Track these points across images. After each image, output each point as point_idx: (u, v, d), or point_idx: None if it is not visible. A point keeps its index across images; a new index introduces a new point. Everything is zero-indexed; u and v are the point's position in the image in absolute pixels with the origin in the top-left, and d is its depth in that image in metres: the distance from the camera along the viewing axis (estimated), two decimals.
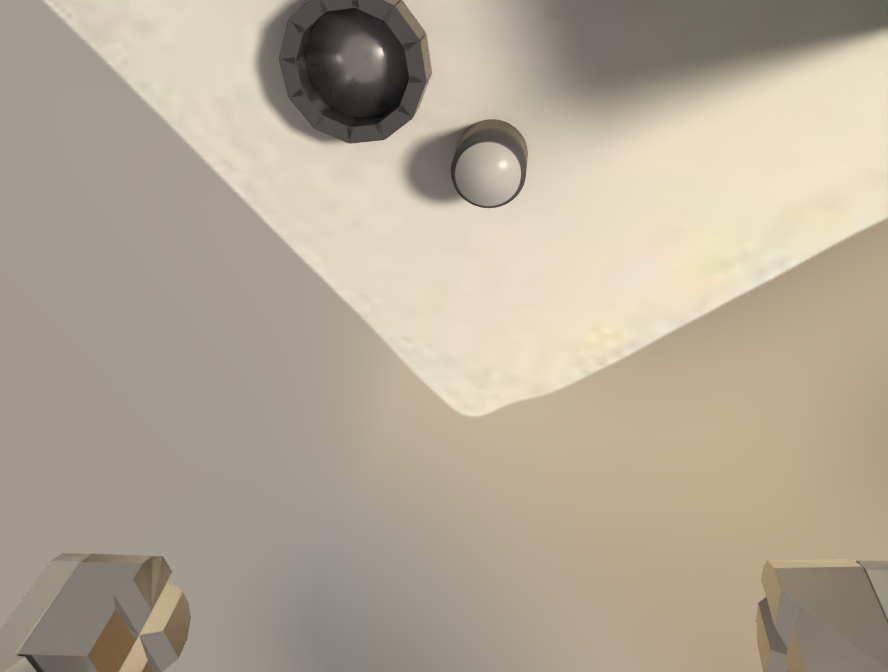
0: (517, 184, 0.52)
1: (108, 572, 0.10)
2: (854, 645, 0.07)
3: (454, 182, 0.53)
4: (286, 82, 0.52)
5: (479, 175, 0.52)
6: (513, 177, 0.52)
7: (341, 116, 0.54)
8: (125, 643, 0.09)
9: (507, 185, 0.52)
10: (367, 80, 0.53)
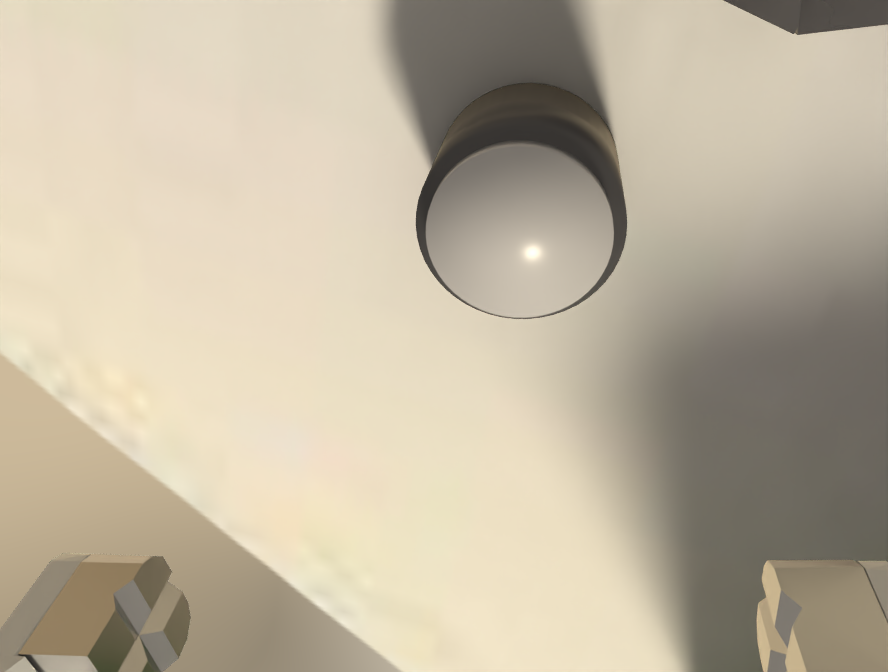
0: (492, 309, 0.20)
1: (108, 572, 0.10)
2: (854, 645, 0.07)
3: (489, 135, 0.17)
4: None
5: (517, 217, 0.18)
6: (512, 301, 0.19)
7: None
8: (125, 643, 0.09)
9: (489, 286, 0.19)
10: None
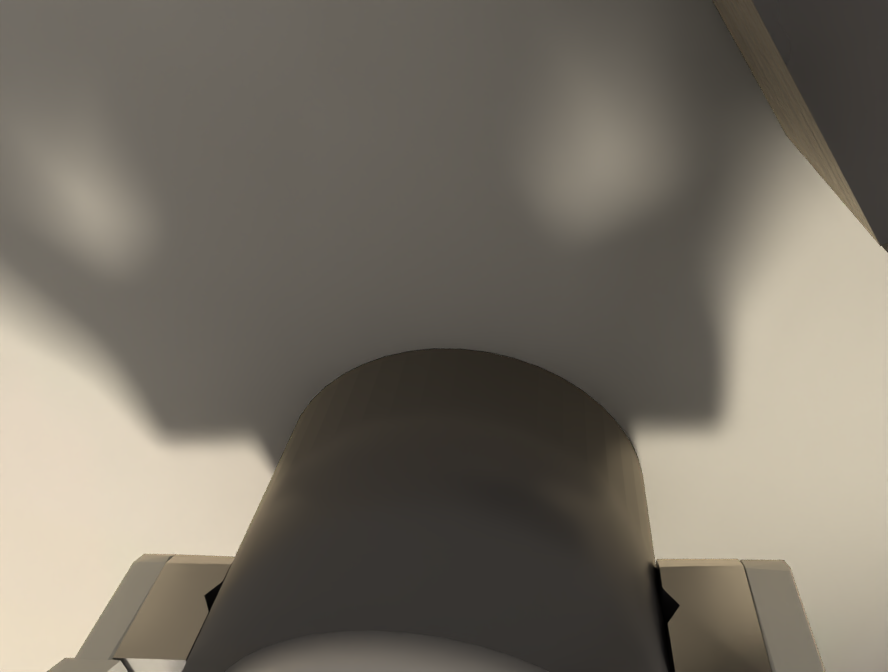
0: None
1: (195, 573, 0.09)
2: (721, 641, 0.07)
3: (319, 615, 0.06)
4: None
5: None
6: None
7: None
8: None
9: None
10: None
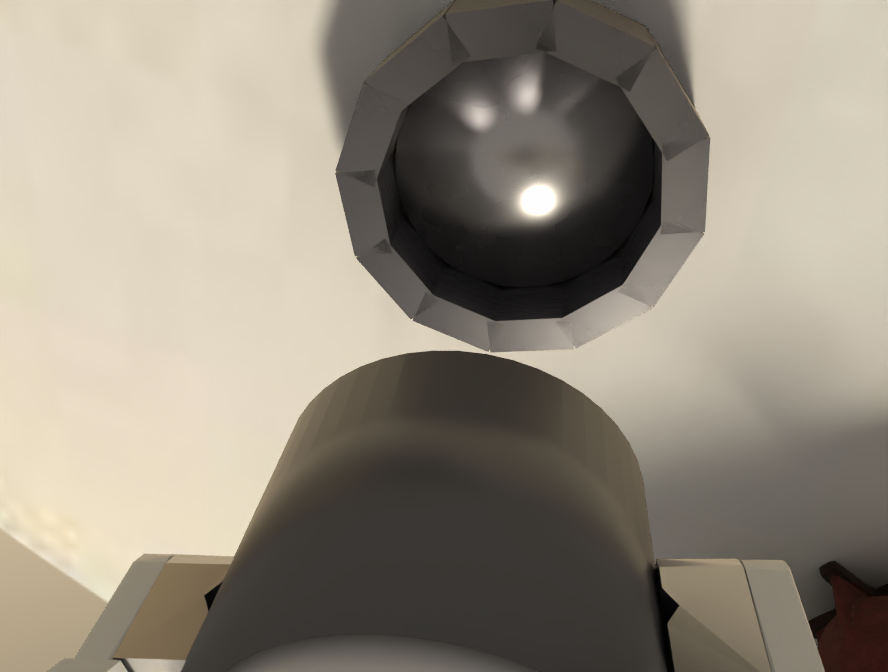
0: None
1: (195, 573, 0.09)
2: (721, 641, 0.07)
3: (316, 619, 0.06)
4: (487, 14, 0.18)
5: None
6: None
7: (397, 132, 0.21)
8: None
9: None
10: (482, 190, 0.23)
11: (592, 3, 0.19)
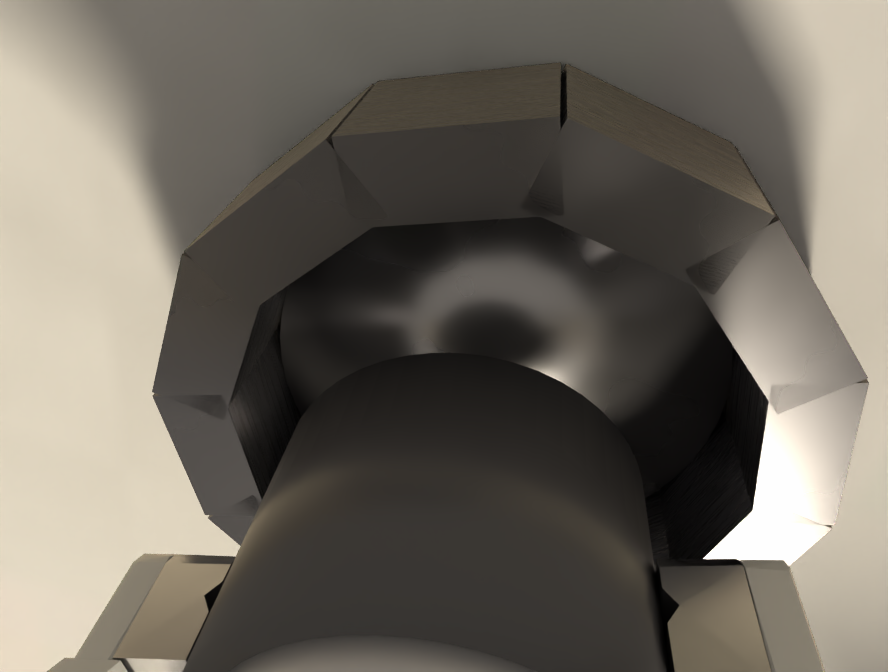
0: None
1: (195, 573, 0.09)
2: (721, 641, 0.07)
3: (317, 619, 0.06)
4: (418, 139, 0.08)
5: None
6: None
7: (273, 313, 0.12)
8: None
9: None
10: None
11: (634, 102, 0.10)
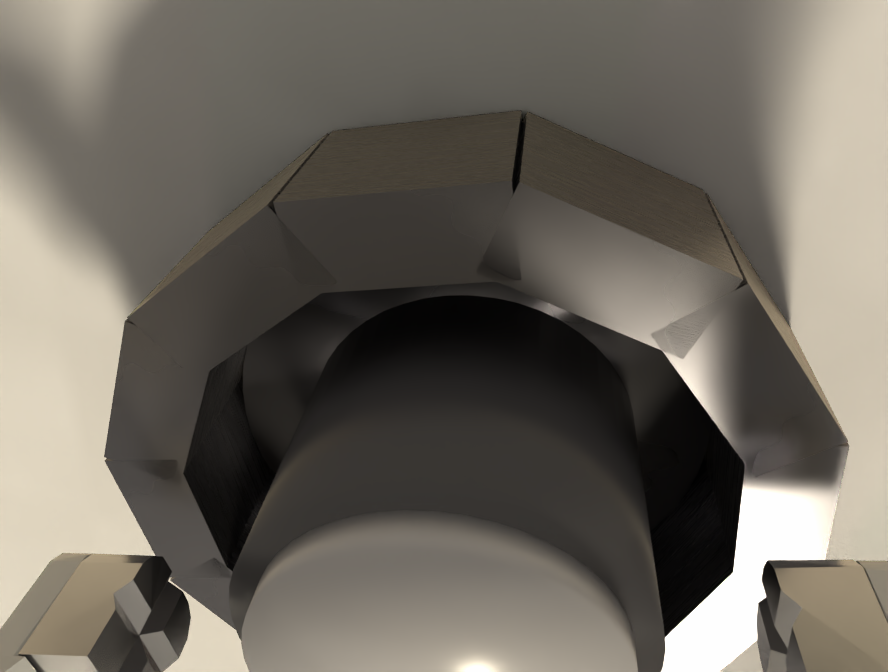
0: None
1: (108, 572, 0.10)
2: (853, 645, 0.07)
3: (358, 497, 0.08)
4: (364, 204, 0.08)
5: (431, 650, 0.08)
6: None
7: (231, 369, 0.11)
8: (125, 643, 0.09)
9: None
10: None
11: (598, 152, 0.09)
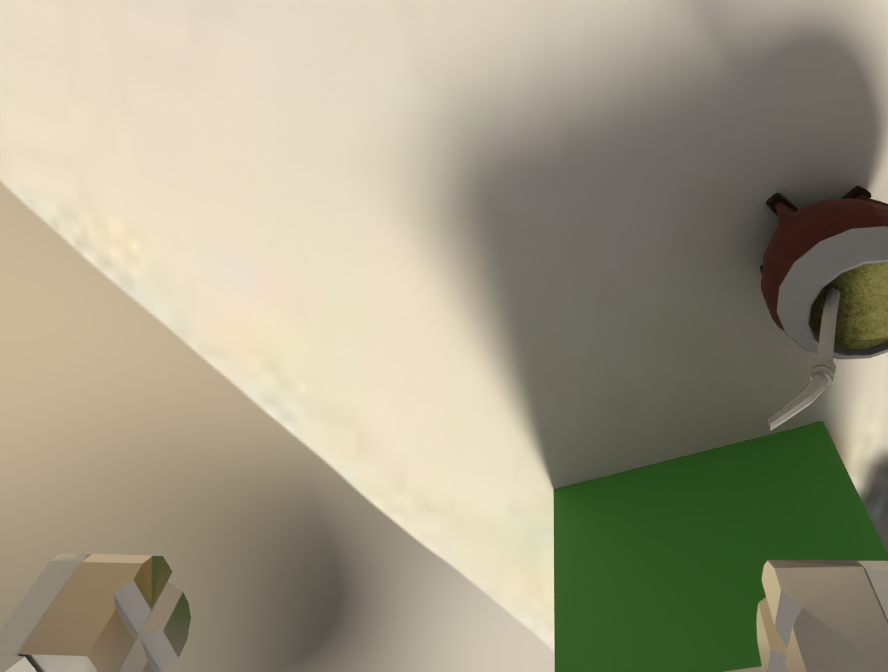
0: None
1: (108, 572, 0.10)
2: (854, 645, 0.07)
3: None
4: None
5: None
6: None
7: None
8: (125, 643, 0.09)
9: None
10: None
11: None
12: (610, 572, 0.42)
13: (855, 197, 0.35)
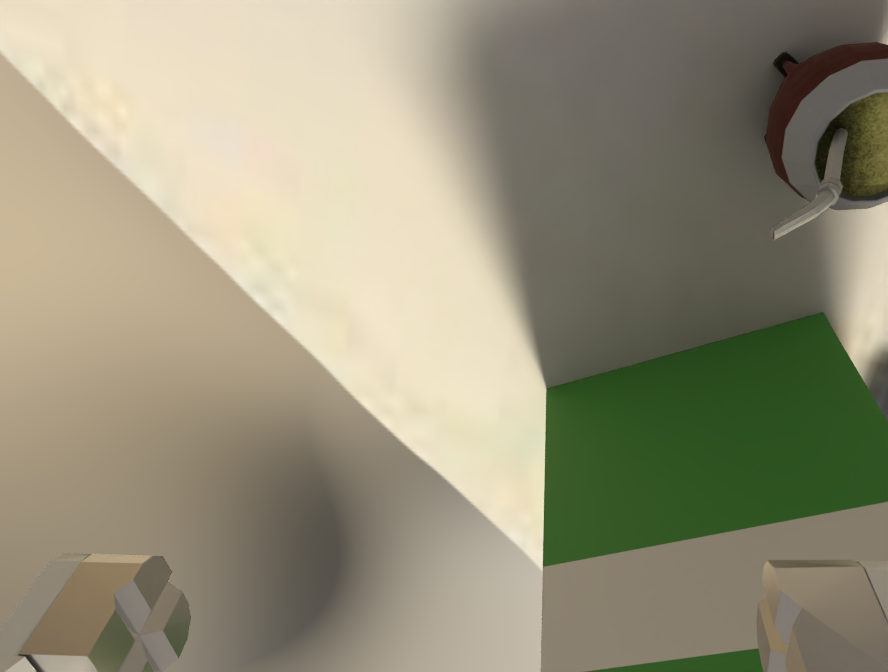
0: None
1: (108, 572, 0.10)
2: (853, 645, 0.07)
3: None
4: None
5: None
6: None
7: None
8: (125, 643, 0.09)
9: None
10: None
11: None
12: (603, 456, 0.41)
13: None
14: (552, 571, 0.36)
